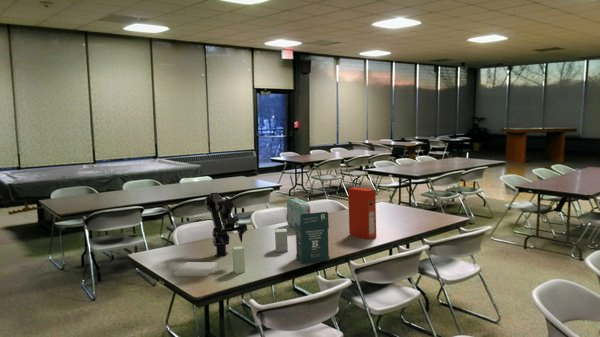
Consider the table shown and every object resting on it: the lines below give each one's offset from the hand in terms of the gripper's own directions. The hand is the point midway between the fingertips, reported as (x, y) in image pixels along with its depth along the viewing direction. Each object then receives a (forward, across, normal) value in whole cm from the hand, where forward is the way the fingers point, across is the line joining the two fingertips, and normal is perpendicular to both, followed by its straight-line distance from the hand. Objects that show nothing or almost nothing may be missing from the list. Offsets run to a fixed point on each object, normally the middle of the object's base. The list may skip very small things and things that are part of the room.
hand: (233, 243), depth 245 cm
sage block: (+15, 0, +4) cm, 16 cm away
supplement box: (-2, +35, +21) cm, 41 cm away
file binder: (-3, +94, +22) cm, 97 cm away
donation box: (+15, +43, +4) cm, 46 cm away
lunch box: (-35, +68, +55) cm, 94 cm away
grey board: (+5, -20, +14) cm, 24 cm away
